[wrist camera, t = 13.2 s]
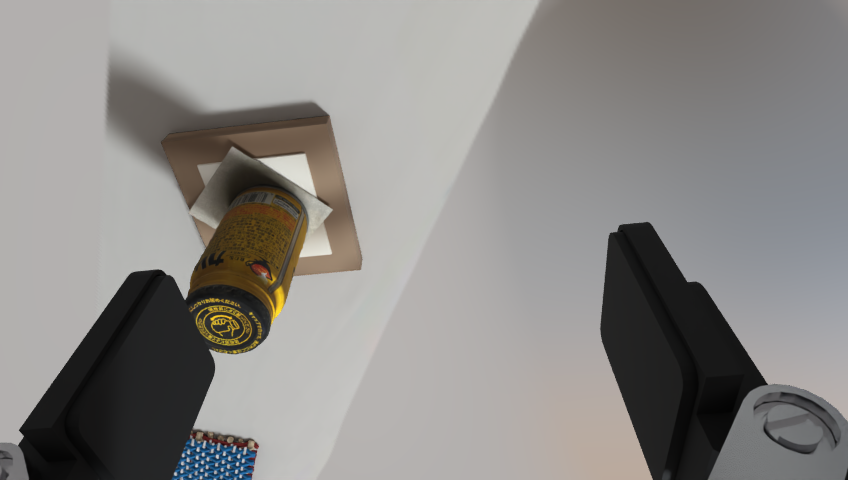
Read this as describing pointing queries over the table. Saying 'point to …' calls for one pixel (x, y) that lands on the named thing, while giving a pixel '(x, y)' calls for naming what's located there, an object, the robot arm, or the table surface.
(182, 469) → the woven mat
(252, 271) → the condiment
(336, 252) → the picture frame
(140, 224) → the table surface
